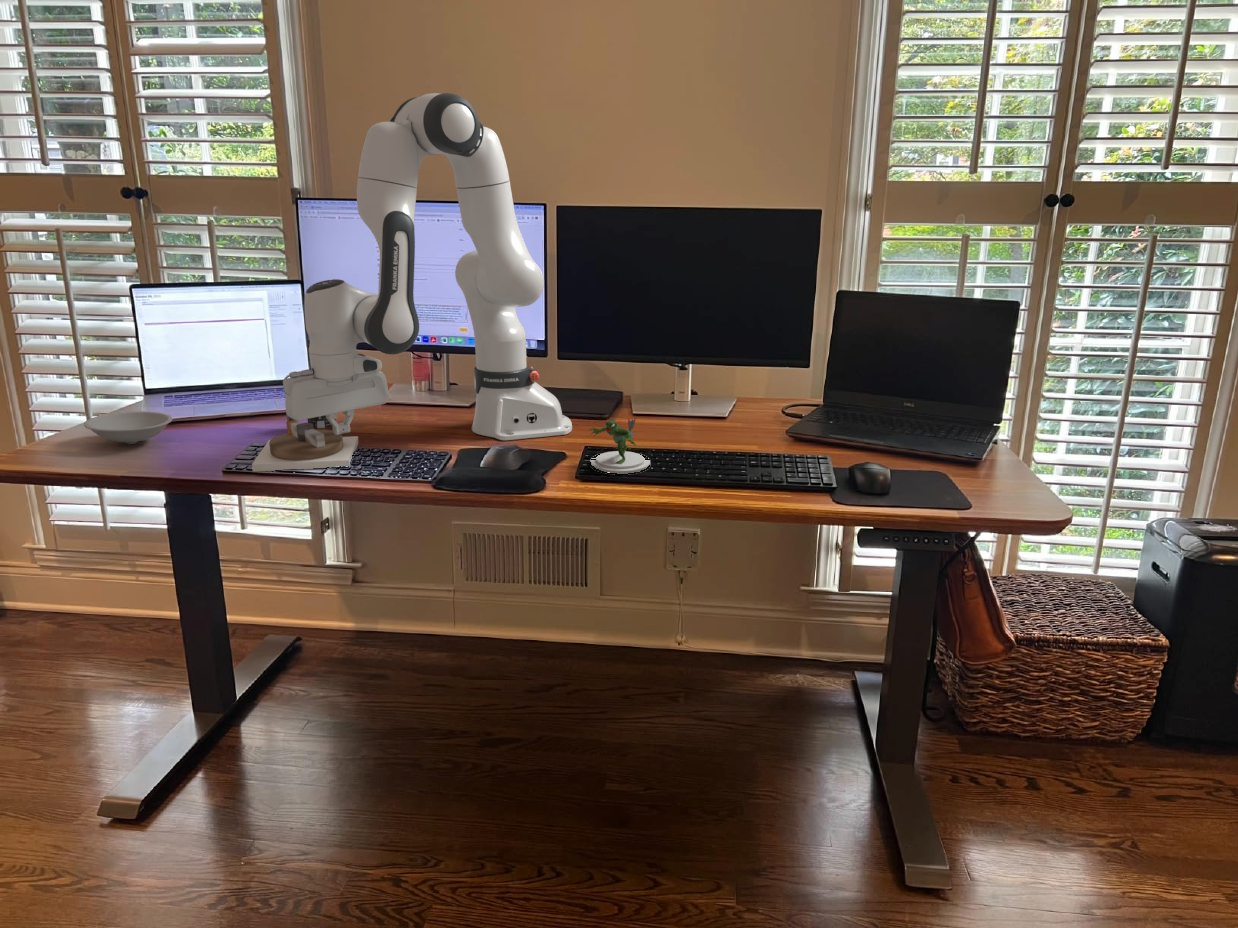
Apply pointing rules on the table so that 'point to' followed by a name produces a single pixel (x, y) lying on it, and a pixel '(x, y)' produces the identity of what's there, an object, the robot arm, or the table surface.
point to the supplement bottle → (321, 423)
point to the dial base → (271, 463)
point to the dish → (128, 425)
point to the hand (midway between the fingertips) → (341, 432)
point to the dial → (305, 442)
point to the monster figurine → (619, 451)
